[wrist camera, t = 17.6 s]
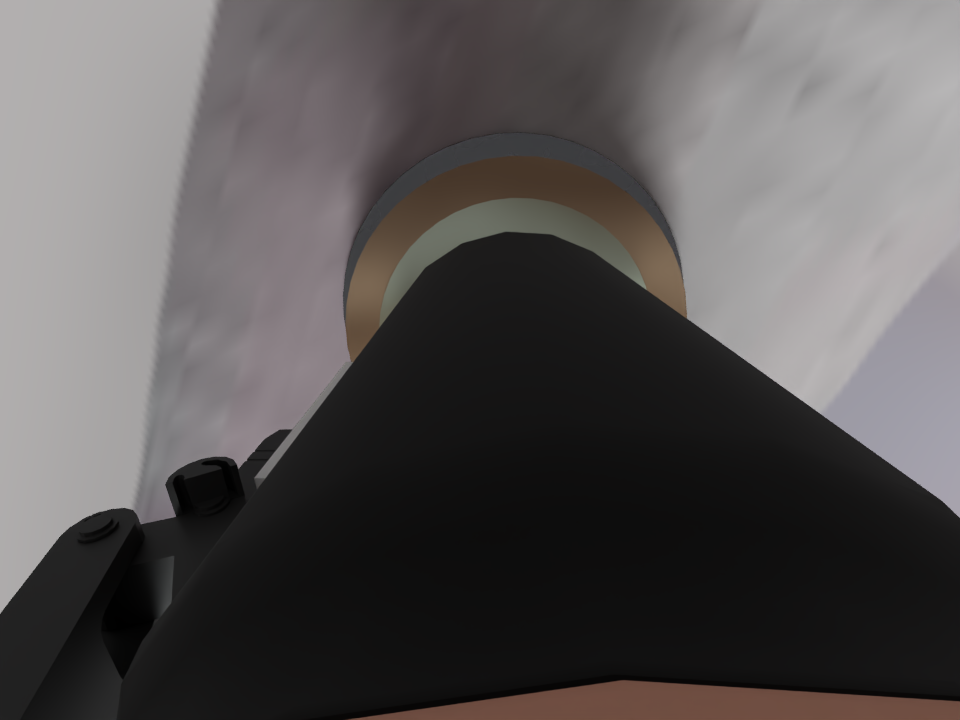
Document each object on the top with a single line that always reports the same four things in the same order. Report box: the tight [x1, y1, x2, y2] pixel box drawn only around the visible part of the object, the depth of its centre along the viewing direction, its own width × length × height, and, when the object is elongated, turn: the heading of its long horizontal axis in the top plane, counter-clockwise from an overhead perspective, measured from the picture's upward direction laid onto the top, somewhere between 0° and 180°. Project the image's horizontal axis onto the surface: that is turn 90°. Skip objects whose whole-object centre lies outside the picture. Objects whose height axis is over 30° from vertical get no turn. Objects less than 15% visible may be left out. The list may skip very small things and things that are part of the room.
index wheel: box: [346, 156, 687, 362], centre depth 20 cm, size 16×16×9 cm
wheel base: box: [343, 133, 683, 326], centre depth 24 cm, size 18×18×1 cm
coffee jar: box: [117, 231, 960, 720], centre depth 11 cm, size 11×11×18 cm
